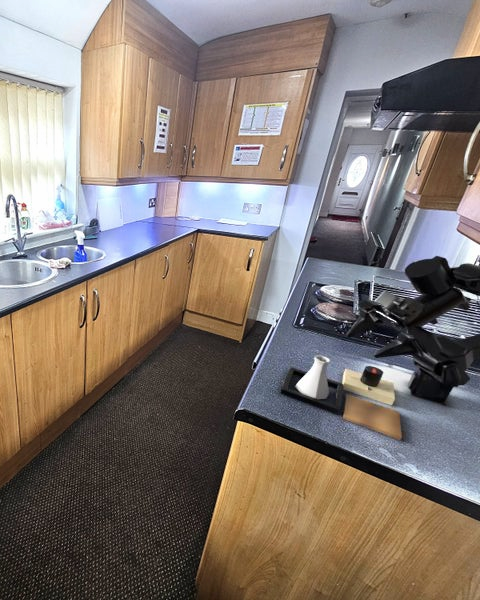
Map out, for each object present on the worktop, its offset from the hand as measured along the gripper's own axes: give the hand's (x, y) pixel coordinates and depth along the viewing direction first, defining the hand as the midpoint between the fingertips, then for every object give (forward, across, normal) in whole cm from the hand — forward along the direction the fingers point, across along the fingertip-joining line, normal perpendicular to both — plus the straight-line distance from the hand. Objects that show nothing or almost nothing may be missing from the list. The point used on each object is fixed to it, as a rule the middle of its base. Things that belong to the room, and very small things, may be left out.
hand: (359, 345), depth 79 cm
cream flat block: (+5, -1, +15) cm, 15 cm away
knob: (+3, -1, +13) cm, 14 cm away
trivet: (+9, +9, +10) cm, 16 cm away
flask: (+15, 0, +4) cm, 16 cm away
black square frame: (+15, 0, +4) cm, 16 cm away
